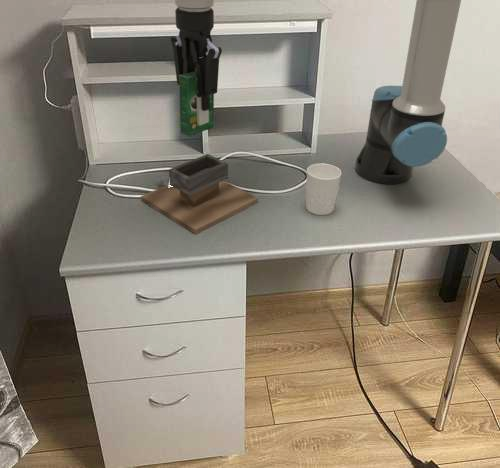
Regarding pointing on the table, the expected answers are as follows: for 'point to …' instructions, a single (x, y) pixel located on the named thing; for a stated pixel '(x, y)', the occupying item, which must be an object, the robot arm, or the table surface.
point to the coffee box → (192, 105)
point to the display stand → (199, 194)
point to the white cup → (322, 188)
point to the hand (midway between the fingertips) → (197, 120)
